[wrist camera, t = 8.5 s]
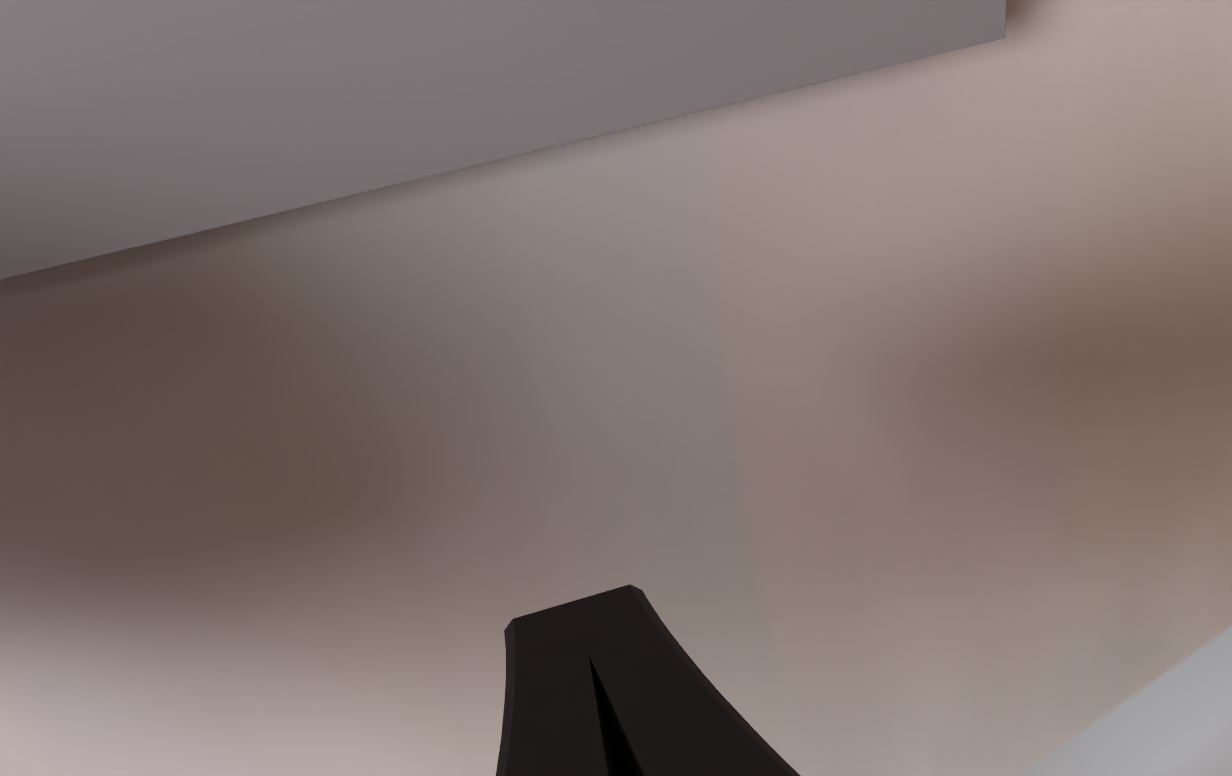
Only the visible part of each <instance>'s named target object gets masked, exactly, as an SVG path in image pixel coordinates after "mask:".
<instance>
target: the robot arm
mask: <svg viewBox="0 0 1232 776" xmlns="http://www.w3.org/2000/svg"><path fill="white" fill-rule="evenodd" d="M504 633H505V644H506V688H505V704H504V715H503V726H502V736H501V744H500V751H499V758H498V765H497V772H496V776H800V775H799V774H798V773H797V772H796V771H795V770H794V769H793V768H792V767H791V766H790V765H789V764H788V763H787V762H786V761H785V760H784V759H783V758H782V757H781V756H780V755H779V754H778V753H777V752H776V751H775V750H774V749H773V748H772V747H771V746H770V745H769V744H768V743H767V742H766V741H765V740H764V739H763V738H762V737H761V736H760V735H759V734H758V733H757V732H756V731H755V730H754V729H753V728H752V727H751V726H750V725H749V723H748V722H747V721H746V720H745V719H744V718H743V717H742V716H741V715H740V714H739V713H738V712H737V711H736V710H735V709H734V707H733V706H732V705H731V704H730V703H729V702H728V701H727V700H726V699H725V698H724V697H723V696H722V695H721V693H720V692H719V691H718V690H717V689H716V688H715V687H714V685H713V684H712V683H711V682H710V681H709V680H708V679H707V677H706V676H705V675H704V674H703V673H702V672H701V670H700V669H699V668H698V667H697V665H696V664H695V663H694V662H693V661H692V659H691V658H690V657H689V656H688V655H687V653H686V652H685V651H684V650H683V648H682V647H681V646H680V645H679V643H678V642H677V641H676V639H675V638H674V637H673V635H672V634H671V633H670V632H669V630H668V629H667V627H666V626H665V625H664V623H663V622H662V621H661V619H660V618H659V616H658V615H657V613H656V612H655V610H654V609H653V607H652V606H651V604H650V603H649V601H648V599H647V598H646V596H645V594H644V592H643V591H642V590H641V589H639V588H637V587H634V586H632V585H626V586H623V587H620V588H616V589H613V590H609V591H606V592H603V593H599V594H596V595H592V596H589V597H586V598H582V599H579V600H575V601H572V602H569V603H565V604H562V605H558V606H555V607H552V608H548V609H545V610H542V611H538V612H535V613H531V614H528V615H525V616H521V617H518V618H514V619H512V621H511V622H510V624H509V625H508V626H507V628H506V629H505V630H504Z"/></svg>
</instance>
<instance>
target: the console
mask: <svg viewBox="0 0 1232 776" xmlns="http://www.w3.org/2000/svg"><path fill="white" fill-rule="evenodd" d="M1005 17H1006V0H0V280H1V279H5V278H9V277H13V276H17V275H22V274H26V273H30V272H34V271H38V270H42V269H47V268H51V267H55V266H59V265H63V264H67V263H72V262H76V261H80V260H84V259H88V258H92V257H96V256H101V255H105V254H109V253H113V252H117V251H121V250H126V249H130V248H134V247H138V246H142V245H146V244H150V243H155V242H159V241H163V240H167V239H171V238H175V237H180V236H184V235H188V234H192V233H196V232H200V231H205V230H209V229H213V228H217V227H221V226H225V225H229V224H234V223H238V222H242V221H246V220H250V219H254V218H259V217H263V216H267V215H271V214H275V213H279V212H283V211H288V210H292V209H296V208H300V207H304V206H308V205H313V204H317V203H321V202H325V201H329V200H333V199H338V198H342V197H346V196H350V195H354V194H358V193H362V192H367V191H371V190H375V189H379V188H383V187H387V186H392V185H396V184H400V183H404V182H408V181H412V180H417V179H421V178H425V177H429V176H433V175H437V174H441V173H446V172H450V171H454V170H458V169H462V168H466V167H471V166H475V165H479V164H483V163H487V162H491V161H495V160H500V159H504V158H508V157H512V156H516V155H520V154H525V153H529V152H533V151H537V150H541V149H545V148H550V147H554V146H558V145H562V144H566V143H570V142H574V141H579V140H583V139H587V138H591V137H595V136H599V135H604V134H608V133H612V132H616V131H620V130H624V129H629V128H633V127H637V126H641V125H645V124H649V123H653V122H658V121H662V120H666V119H670V118H674V117H678V116H683V115H687V114H691V113H695V112H699V111H703V110H707V109H712V108H716V107H720V106H724V105H728V104H732V103H737V102H741V101H745V100H749V99H753V98H757V97H762V96H766V95H770V94H774V93H778V92H782V91H786V90H791V89H795V88H799V87H803V86H807V85H811V84H816V83H820V82H824V81H828V80H832V79H836V78H840V77H845V76H849V75H853V74H857V73H861V72H865V71H870V70H874V69H878V68H882V67H886V66H890V65H895V64H899V63H903V62H907V61H911V60H915V59H919V58H924V57H928V56H932V55H936V54H940V53H944V52H949V51H953V50H957V49H961V48H965V47H969V46H974V45H978V44H982V43H986V42H990V41H994V40H998V39H1003V38H1005Z"/></svg>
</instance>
